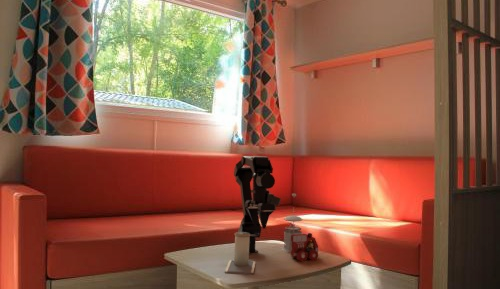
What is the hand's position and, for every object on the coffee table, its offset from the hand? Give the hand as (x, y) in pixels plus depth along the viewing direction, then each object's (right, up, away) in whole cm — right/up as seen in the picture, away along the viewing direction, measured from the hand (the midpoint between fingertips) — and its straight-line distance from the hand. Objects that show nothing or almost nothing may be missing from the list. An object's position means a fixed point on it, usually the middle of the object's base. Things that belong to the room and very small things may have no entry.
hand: (259, 227), depth 171 cm
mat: (-7, -13, -12) cm, 19 cm away
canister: (-7, -12, -10) cm, 17 cm away
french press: (+15, -14, +17) cm, 27 cm away
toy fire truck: (+18, -14, +4) cm, 23 cm away
